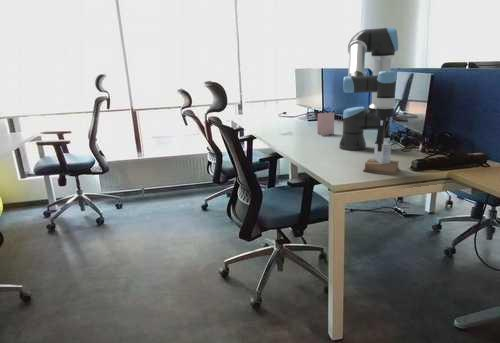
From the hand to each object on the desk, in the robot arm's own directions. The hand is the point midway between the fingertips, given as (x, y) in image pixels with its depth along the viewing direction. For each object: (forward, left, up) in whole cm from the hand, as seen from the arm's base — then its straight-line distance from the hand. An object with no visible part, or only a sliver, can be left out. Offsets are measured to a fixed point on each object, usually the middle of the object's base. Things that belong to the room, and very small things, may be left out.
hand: (382, 155), depth 169 cm
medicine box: (0, 0, -3) cm, 3 cm away
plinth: (0, 0, -7) cm, 7 cm away
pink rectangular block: (-79, -51, -7) cm, 94 cm away
